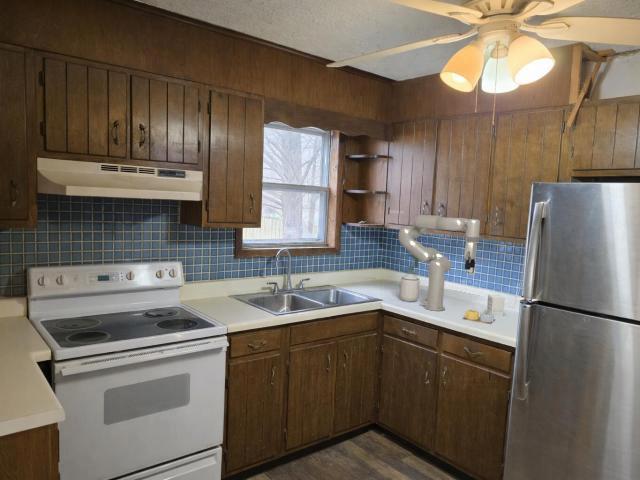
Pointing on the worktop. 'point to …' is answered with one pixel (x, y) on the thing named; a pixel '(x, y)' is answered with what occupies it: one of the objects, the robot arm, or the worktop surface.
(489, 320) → the slate gear
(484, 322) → the gear board
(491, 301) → the supplement box
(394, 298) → the worktop surface
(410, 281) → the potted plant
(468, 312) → the ochre gear
